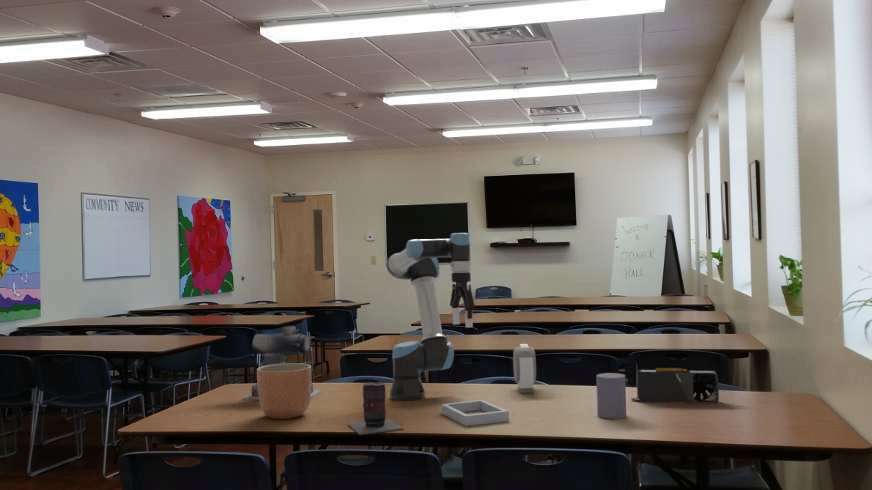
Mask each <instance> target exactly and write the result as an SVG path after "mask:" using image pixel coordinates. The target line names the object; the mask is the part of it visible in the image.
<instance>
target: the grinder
mask: <svg viewBox="0 0 872 490" xmlns="http://www.w3.org/2000/svg"><path fill="white" fill-rule="evenodd" d="M280 330H281V333H256V334H255V335H254V337H253V339H252V344H251V346H252V350H253V352H254V353H255V354H257V355H259V354H260V355H264V357H263V362H262V366H267V365H274V364H286V360H285V355H293V356H294V357H298V356H299V355H302V354H303V353H307V352H308V351H309V350H310V347H311V341H310V340H311V339H310V337H309V336H308V335H305V334H303V333H299V332H300V331H299V328H297V329H296V326H289V325H288V326H284V327H282V328H281V329H280ZM262 366H261V367H262ZM313 386H314V385H313V381H312V380H311V396H310V400H311V399H313V398H315V397H316V396H318V395H320V394H321V393H323V389H314V387H313ZM241 400H242V401H243V400H245V401H247V400H248V401H249V400H250V401H251V400H252V401H253V400H254V401H255V400H257V401H259V395H258V384H257V383H255V384H254V385H252V386H251V393H249V394H247V395H244V396H243V397H242V398H241Z"/></svg>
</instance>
